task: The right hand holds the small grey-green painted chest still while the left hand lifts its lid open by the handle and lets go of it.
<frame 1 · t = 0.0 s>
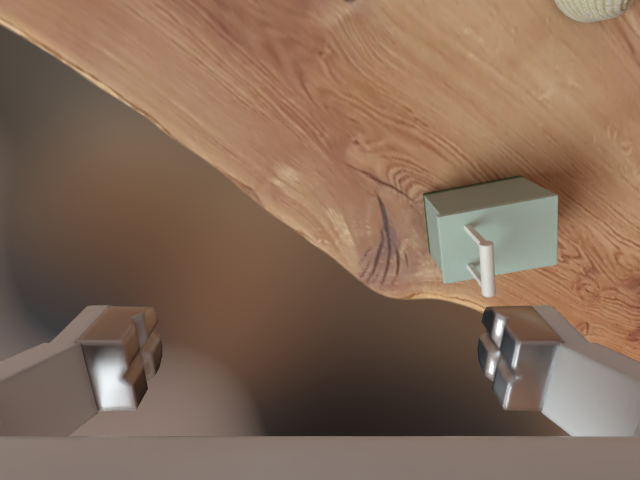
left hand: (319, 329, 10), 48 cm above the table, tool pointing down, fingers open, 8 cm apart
lid: (509, 251, 48), point 13 cm above the table, hinge at 0.0°
chest: (473, 215, 60), on the table
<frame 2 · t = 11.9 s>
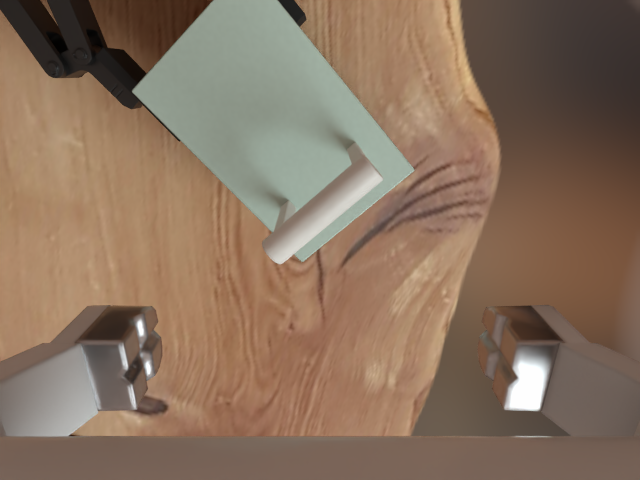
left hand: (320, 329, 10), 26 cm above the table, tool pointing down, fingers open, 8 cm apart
lid: (272, 140, 21), point 13 cm above the table, hinge at 0.0°
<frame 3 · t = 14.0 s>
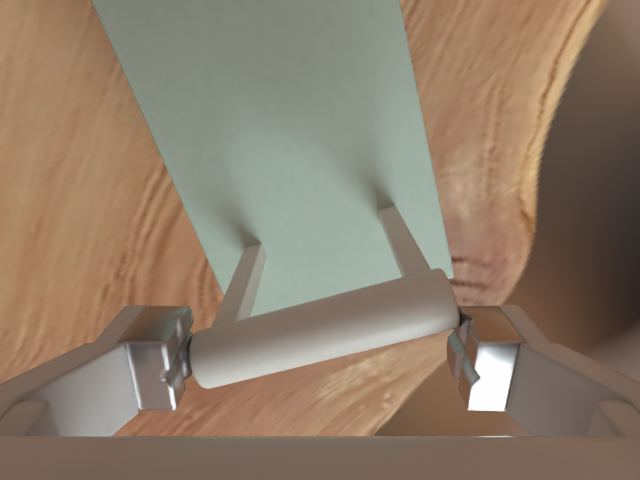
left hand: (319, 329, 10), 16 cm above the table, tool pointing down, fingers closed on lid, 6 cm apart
lid: (283, 157, 12), point 13 cm above the table, hinge at -0.3°, touching left hand
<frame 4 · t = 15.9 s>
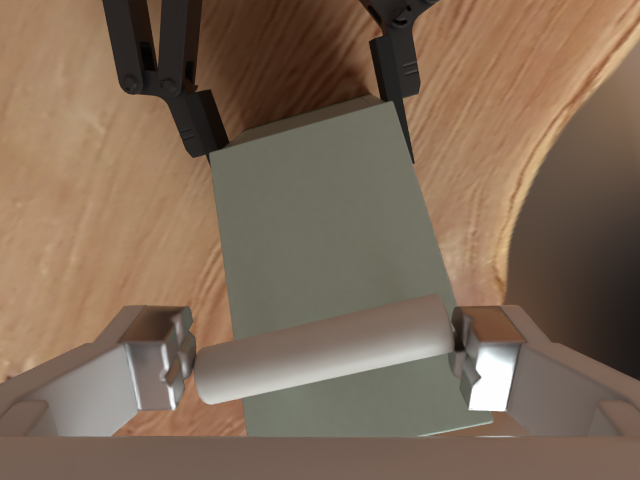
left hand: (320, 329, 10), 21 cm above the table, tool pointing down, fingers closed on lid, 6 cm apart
lid: (315, 246, 15), point 17 cm above the table, hinge at 40.6°, touching left hand
chest: (331, 201, 31), on the table, touching right hand
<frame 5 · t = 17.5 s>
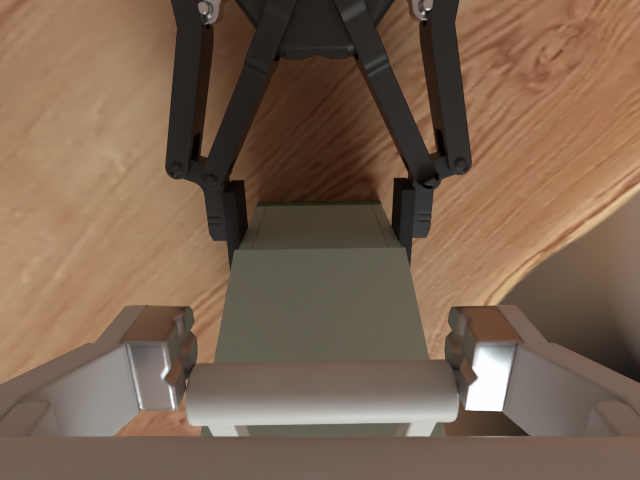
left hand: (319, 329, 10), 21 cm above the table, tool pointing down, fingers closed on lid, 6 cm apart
right hand: (320, 283, 26), fingers closed on chest, 9 cm apart
lid: (321, 331, 15), point 17 cm above the table, hinge at 66.7°, touching left hand
chest: (320, 281, 34), on the table, touching right hand
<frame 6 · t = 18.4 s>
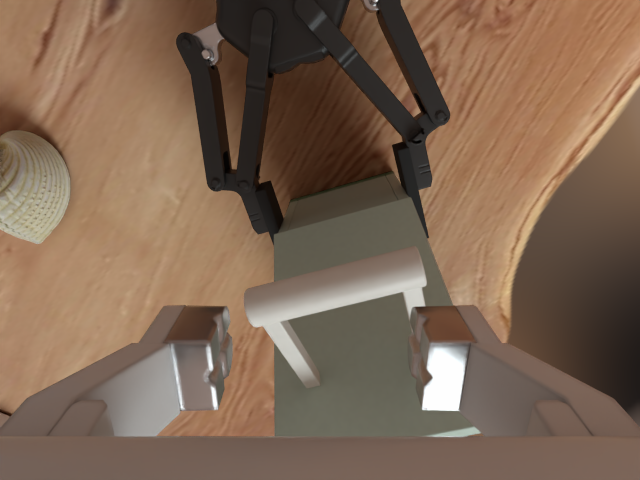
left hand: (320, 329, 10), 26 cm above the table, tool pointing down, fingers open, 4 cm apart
right hand: (354, 249, 31), fingers closed on chest, 9 cm apart
lid: (342, 266, 19), point 17 cm above the table, hinge at 65.9°
seashell: (28, 179, 36), on the table
chest: (360, 255, 38), on the table, touching right hand
when the right hand's fingers open (7 cm above the table, at t = 21.0 s): chest stays where it is, on the table.
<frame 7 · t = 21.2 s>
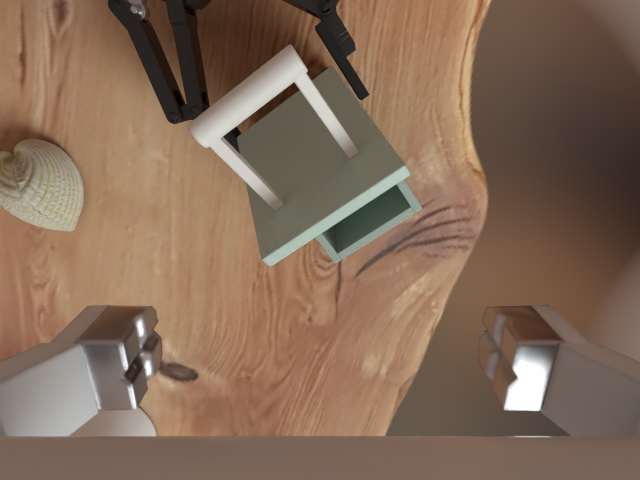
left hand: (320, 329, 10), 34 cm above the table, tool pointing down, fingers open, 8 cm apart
lid: (273, 113, 25), point 17 cm above the table, hinge at 65.3°
seashell: (47, 181, 44), on the table
chest: (331, 155, 43), on the table
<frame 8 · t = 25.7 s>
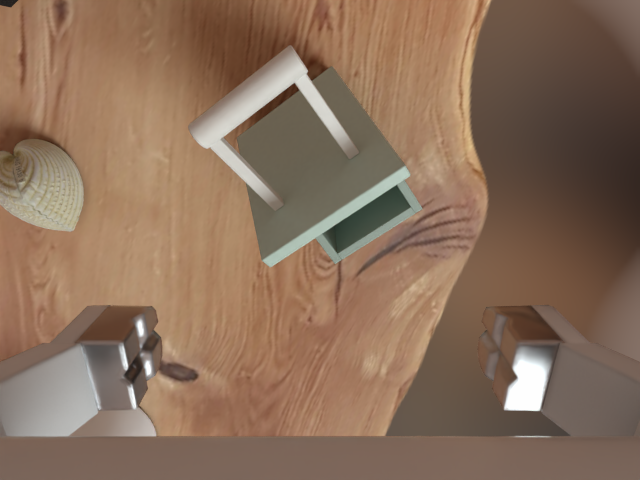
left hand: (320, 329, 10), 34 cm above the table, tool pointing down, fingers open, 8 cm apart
lid: (273, 113, 25), point 17 cm above the table, hinge at 65.3°
seashell: (47, 181, 44), on the table
chest: (331, 155, 43), on the table
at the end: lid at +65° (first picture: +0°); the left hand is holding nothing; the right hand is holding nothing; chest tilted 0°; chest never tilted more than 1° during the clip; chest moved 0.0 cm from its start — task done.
